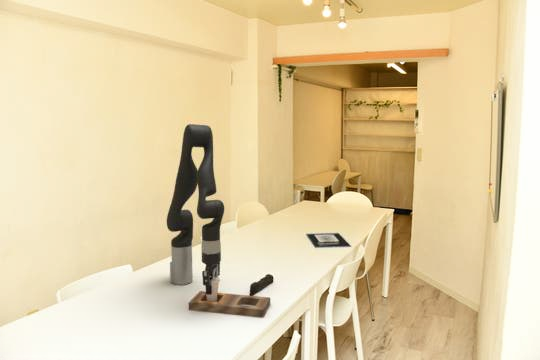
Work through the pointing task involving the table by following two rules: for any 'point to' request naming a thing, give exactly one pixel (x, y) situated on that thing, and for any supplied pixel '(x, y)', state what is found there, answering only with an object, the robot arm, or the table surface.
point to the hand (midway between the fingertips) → (211, 290)
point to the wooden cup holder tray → (231, 304)
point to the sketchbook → (327, 240)
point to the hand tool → (260, 284)
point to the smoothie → (213, 290)
